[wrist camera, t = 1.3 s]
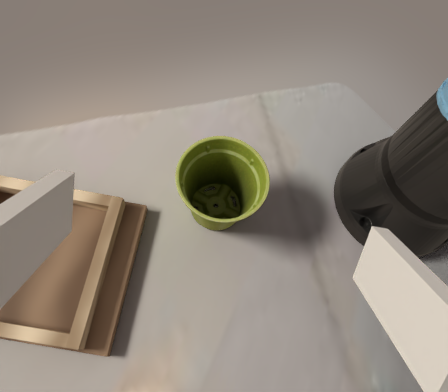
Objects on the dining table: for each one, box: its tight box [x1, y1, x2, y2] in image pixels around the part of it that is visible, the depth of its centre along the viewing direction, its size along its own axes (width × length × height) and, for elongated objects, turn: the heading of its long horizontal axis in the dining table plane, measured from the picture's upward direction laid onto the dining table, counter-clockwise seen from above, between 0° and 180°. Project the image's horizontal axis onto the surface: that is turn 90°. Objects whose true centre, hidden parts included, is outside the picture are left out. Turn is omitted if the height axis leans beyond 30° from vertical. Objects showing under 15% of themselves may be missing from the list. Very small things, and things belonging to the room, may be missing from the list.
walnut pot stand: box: [0, 176, 147, 356], centre depth 37 cm, size 20×16×4 cm
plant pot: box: [175, 136, 270, 230], centre depth 39 cm, size 9×9×9 cm
